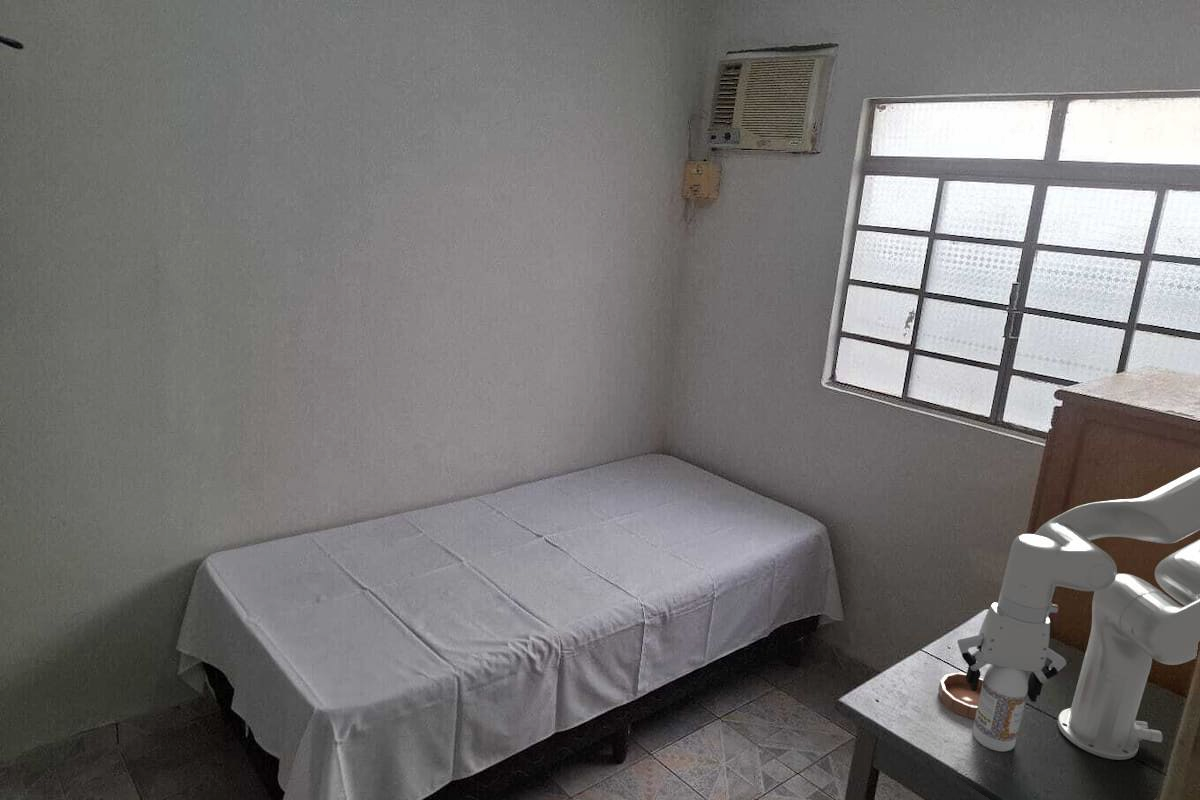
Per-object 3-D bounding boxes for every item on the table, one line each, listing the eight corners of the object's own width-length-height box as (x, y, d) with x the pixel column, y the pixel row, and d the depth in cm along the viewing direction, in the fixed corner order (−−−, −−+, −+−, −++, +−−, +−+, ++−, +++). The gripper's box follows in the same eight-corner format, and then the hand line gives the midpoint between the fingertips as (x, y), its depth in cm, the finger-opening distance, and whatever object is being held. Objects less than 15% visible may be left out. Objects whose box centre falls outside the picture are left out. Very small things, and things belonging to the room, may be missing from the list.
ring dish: (991, 689, 156) (993, 677, 155) (1005, 724, 146) (1008, 713, 145) (934, 679, 158) (936, 668, 157) (944, 714, 148) (947, 703, 147)
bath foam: (1000, 758, 138) (1023, 659, 132) (963, 734, 143) (984, 638, 137) (1022, 744, 141) (1046, 647, 135) (986, 721, 147) (1007, 627, 141)
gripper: (1070, 603, 136) (1047, 687, 141) (963, 586, 139) (944, 669, 144) (1086, 627, 129) (1061, 715, 134) (973, 609, 132) (953, 695, 137)
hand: (1000, 691), depth 139 cm, fingers open, 9 cm apart
